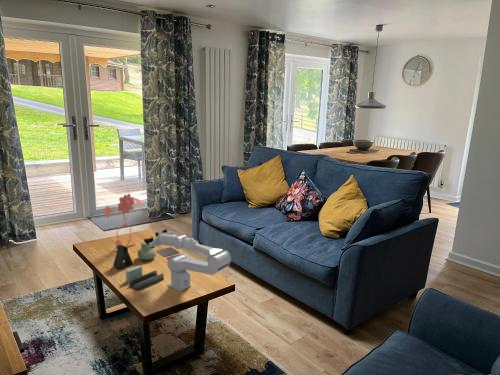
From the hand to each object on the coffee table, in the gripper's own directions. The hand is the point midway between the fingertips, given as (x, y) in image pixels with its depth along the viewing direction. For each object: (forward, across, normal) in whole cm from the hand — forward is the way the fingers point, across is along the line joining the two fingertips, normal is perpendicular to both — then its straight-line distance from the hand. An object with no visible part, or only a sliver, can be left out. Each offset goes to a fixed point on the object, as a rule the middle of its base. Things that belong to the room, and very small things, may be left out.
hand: (150, 237), depth 198 cm
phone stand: (+23, +6, +17) cm, 29 cm away
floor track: (-2, +12, +20) cm, 23 cm away
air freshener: (+21, -8, +20) cm, 30 cm away
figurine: (+41, -11, +17) cm, 45 cm away
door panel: (+6, +13, +18) cm, 23 cm away
